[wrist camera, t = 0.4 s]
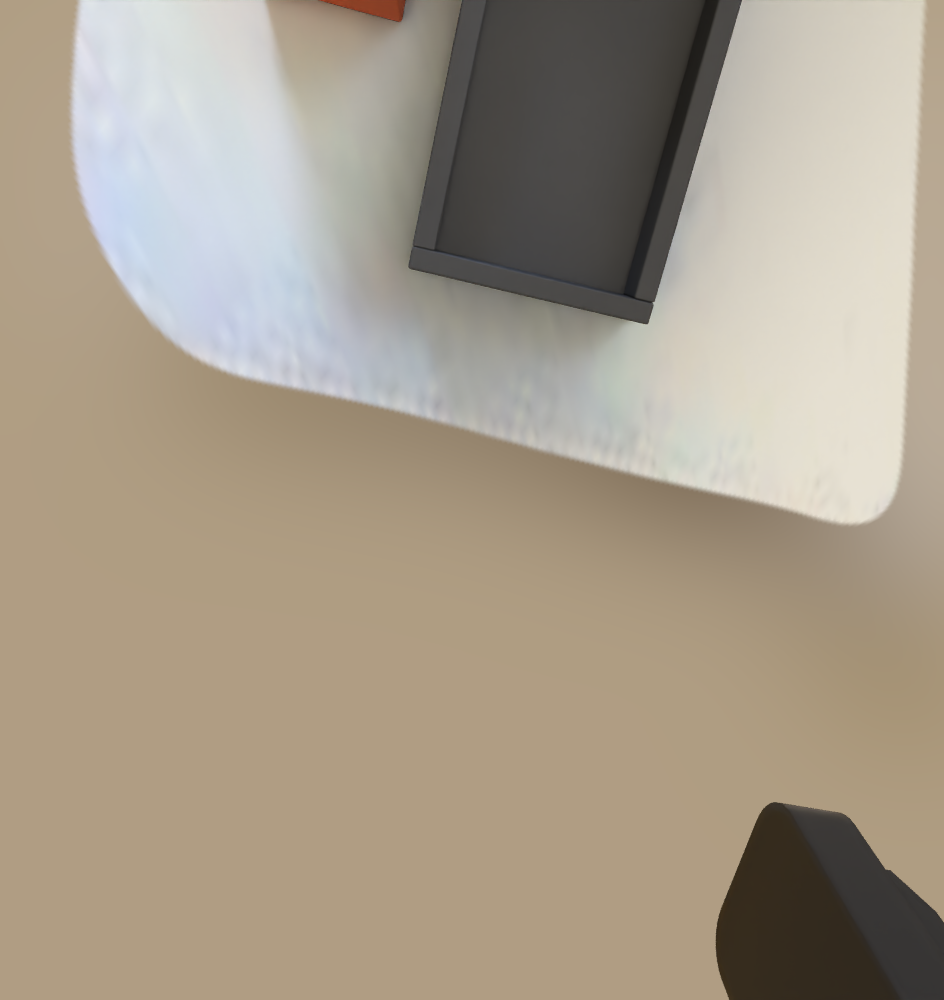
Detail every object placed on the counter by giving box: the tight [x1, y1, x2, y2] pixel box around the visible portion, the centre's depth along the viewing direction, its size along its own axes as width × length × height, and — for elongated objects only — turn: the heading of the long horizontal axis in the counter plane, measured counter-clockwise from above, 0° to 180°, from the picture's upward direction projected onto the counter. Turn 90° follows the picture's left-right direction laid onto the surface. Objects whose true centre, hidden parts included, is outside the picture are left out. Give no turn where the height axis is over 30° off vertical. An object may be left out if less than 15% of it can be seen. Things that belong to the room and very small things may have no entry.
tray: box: [409, 0, 742, 324], centre depth 30 cm, size 14×9×2 cm, turn 167°
